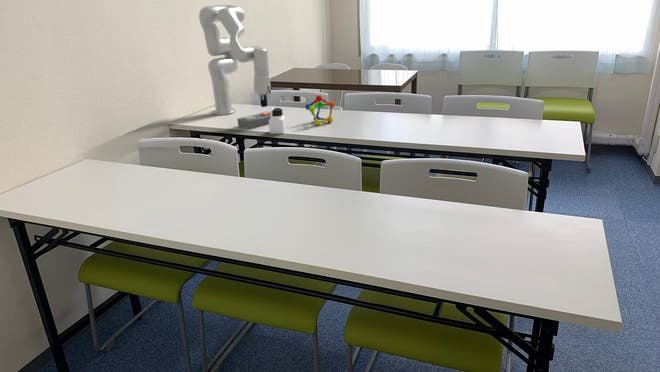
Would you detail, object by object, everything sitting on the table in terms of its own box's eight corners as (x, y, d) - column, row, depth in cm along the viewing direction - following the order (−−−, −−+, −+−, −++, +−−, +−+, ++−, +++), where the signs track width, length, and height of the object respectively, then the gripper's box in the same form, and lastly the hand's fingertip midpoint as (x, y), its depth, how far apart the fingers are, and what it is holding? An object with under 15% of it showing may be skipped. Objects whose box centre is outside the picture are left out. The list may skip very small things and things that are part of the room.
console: (238, 125, 261) (237, 118, 260) (269, 118, 273) (268, 111, 271) (248, 129, 254) (247, 121, 253) (279, 121, 266) (278, 114, 264)
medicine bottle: (286, 129, 250) (284, 106, 246) (283, 133, 244) (281, 110, 239) (272, 129, 251) (270, 107, 246) (269, 133, 244) (267, 110, 240)
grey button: (245, 124, 261) (244, 117, 259) (252, 123, 263) (251, 115, 262) (249, 126, 257) (248, 118, 256) (256, 124, 260) (256, 117, 259)
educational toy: (319, 119, 270) (320, 92, 265) (336, 123, 261) (337, 95, 256) (298, 123, 259) (298, 94, 254) (315, 127, 251) (315, 98, 246)
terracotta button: (260, 119, 266) (260, 112, 265) (267, 118, 269) (267, 111, 267) (265, 121, 263) (264, 114, 262) (272, 119, 266) (271, 112, 264)
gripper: (248, 71, 259) (250, 105, 267) (263, 75, 249) (266, 110, 256) (259, 69, 264) (262, 102, 271) (275, 73, 253) (277, 107, 261)
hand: (264, 106), depth 264 cm, fingers closed
